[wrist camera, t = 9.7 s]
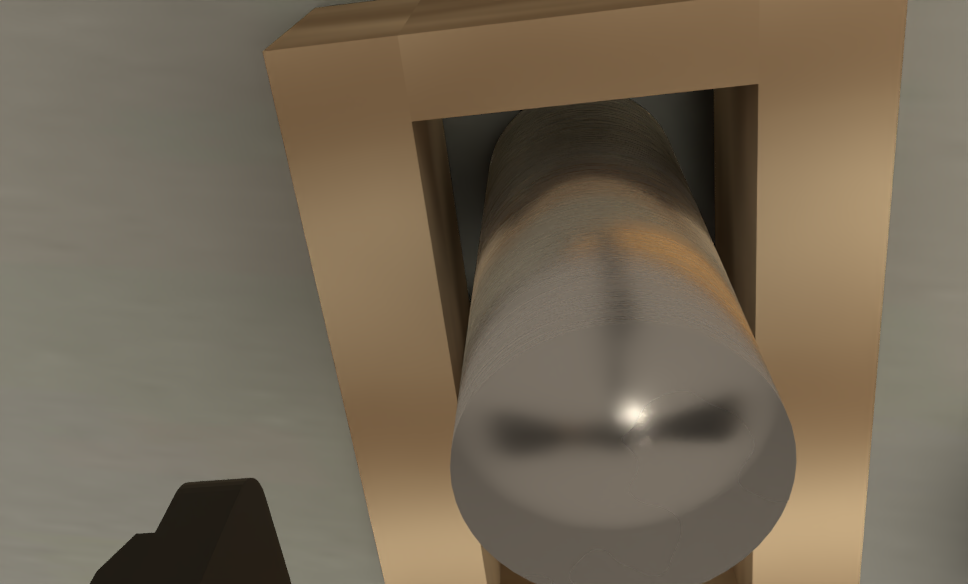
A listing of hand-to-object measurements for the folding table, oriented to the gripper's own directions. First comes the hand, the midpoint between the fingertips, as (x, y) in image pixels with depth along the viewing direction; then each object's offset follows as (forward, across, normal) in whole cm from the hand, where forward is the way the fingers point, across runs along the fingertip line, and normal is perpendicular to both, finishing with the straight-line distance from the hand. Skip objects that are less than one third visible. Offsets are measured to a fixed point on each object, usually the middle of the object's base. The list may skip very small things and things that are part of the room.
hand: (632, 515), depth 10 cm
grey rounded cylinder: (+11, 0, 0) cm, 11 cm away
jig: (+11, 0, +4) cm, 12 cm away
